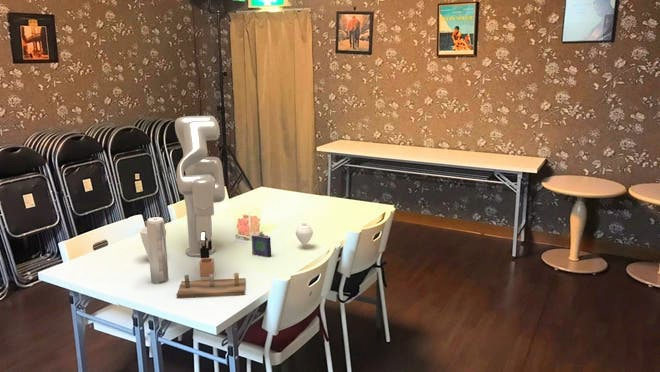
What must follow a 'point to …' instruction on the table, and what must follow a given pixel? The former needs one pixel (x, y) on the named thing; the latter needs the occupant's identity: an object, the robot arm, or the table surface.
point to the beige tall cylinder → (157, 250)
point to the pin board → (212, 287)
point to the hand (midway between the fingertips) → (206, 253)
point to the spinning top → (304, 233)
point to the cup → (146, 239)
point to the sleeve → (206, 268)
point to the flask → (261, 245)
